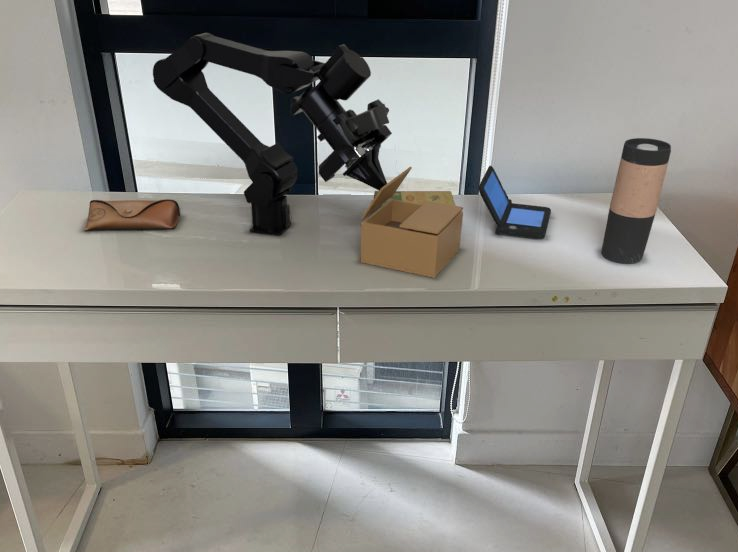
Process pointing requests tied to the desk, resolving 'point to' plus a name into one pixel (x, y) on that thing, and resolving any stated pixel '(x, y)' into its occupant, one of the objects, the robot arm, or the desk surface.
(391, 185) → the flap
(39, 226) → the desk surface
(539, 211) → the game console
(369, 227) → the kraft box
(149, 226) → the sunglasses case
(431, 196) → the carton
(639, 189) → the travel mug
